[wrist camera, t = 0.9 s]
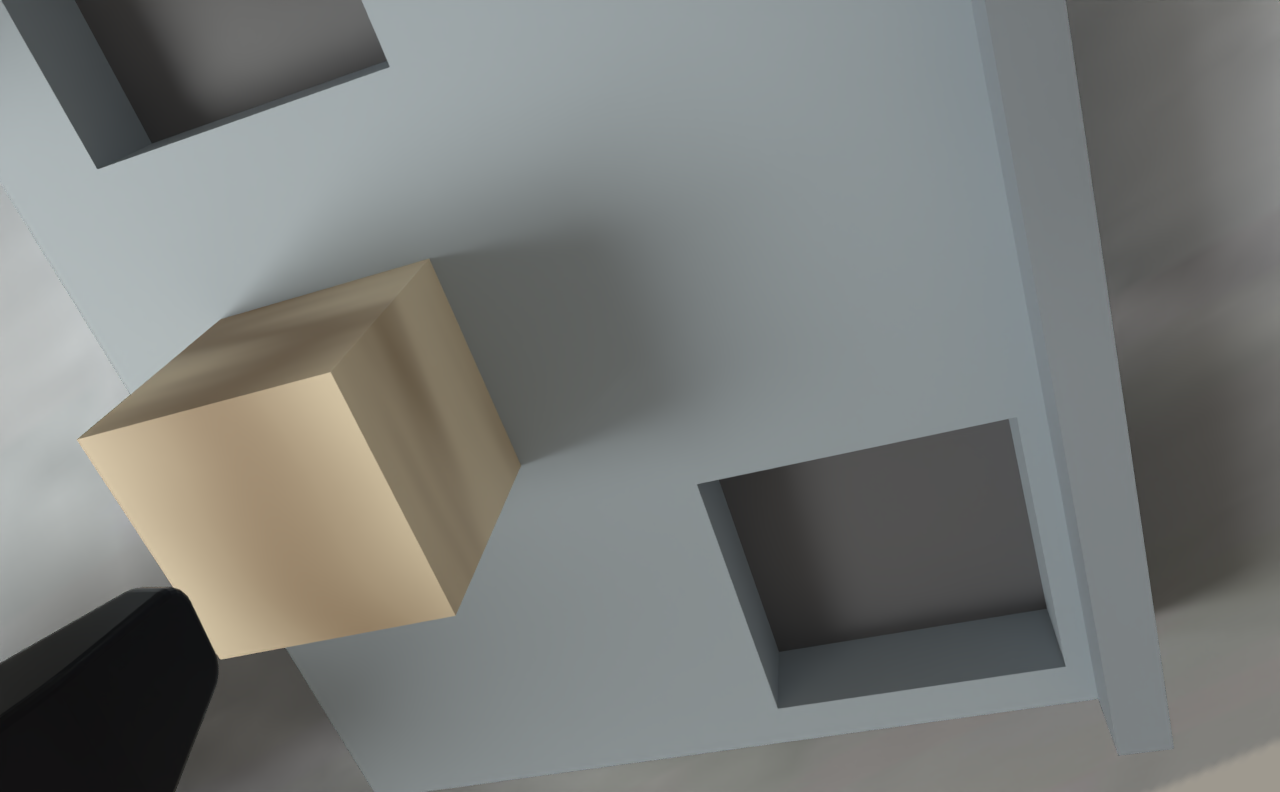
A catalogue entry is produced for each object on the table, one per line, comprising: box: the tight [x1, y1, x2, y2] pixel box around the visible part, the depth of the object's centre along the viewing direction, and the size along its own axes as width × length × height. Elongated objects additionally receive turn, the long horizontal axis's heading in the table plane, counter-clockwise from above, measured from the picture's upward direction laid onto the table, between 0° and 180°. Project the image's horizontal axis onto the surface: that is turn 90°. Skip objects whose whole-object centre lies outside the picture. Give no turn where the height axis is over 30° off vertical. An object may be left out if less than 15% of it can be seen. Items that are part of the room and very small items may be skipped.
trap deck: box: [0, 0, 1174, 792], centre depth 18 cm, size 18×27×4 cm, turn 19°
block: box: [77, 259, 521, 660], centre depth 18 cm, size 4×4×4 cm
